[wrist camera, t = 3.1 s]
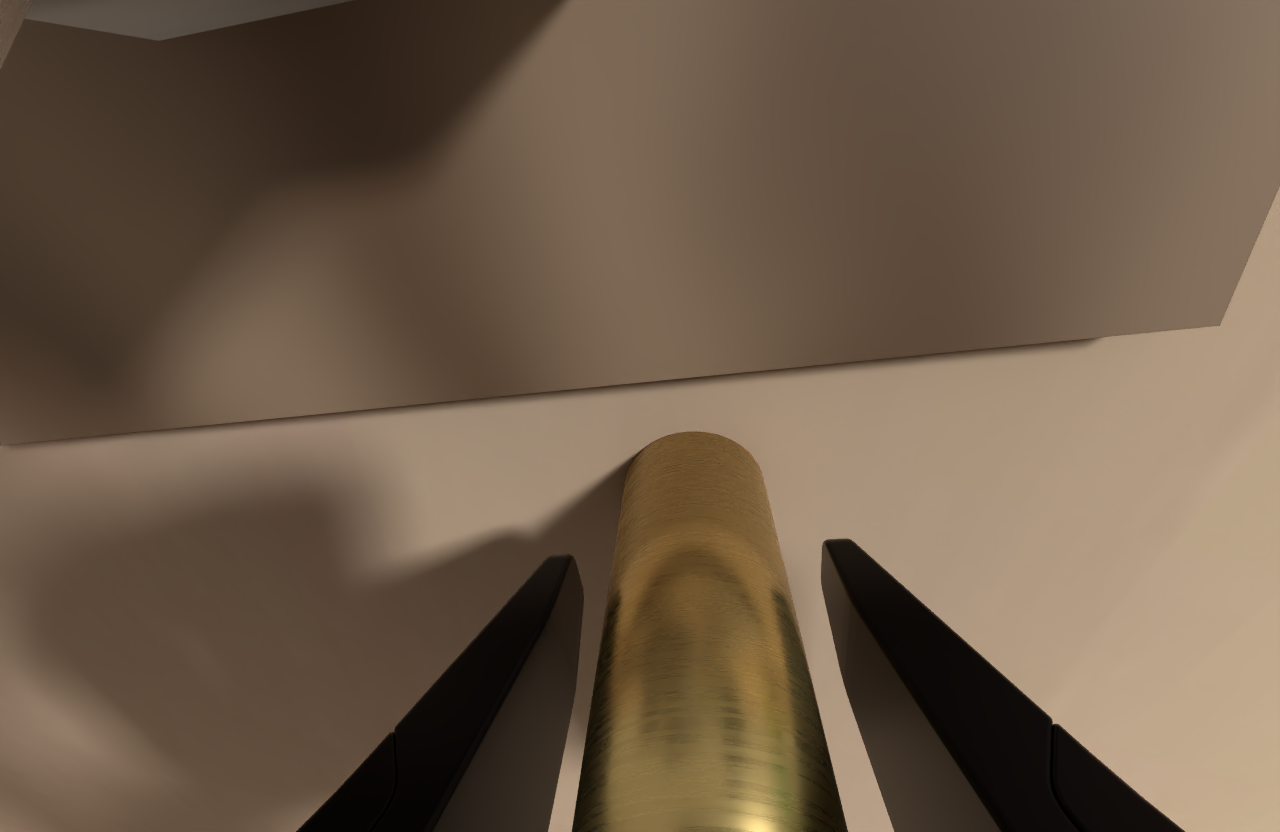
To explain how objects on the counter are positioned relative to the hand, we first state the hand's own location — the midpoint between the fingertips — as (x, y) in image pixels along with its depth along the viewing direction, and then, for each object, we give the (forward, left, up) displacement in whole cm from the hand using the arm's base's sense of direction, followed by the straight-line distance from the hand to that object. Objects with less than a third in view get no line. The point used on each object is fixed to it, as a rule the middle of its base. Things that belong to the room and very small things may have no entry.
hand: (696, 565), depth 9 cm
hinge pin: (0, 0, -2) cm, 2 cm away
